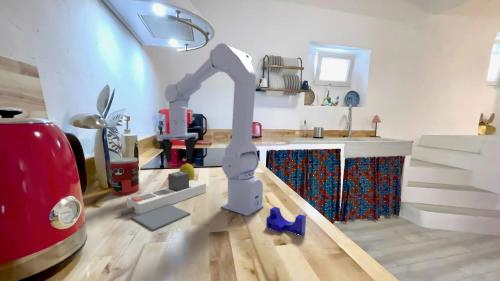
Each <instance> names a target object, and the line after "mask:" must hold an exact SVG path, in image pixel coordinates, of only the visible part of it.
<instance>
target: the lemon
mask: <svg viewBox="0 0 500 281" xmlns="http://www.w3.org/2000/svg"><path fill="white" fill-rule="evenodd" d="M180 171H181V172H185V173H189V181H190V180H194V178H195V174H196V172H195V168H194V166H193V165H192V164H190V163H187V162H186V163H185V164H183V165H181V166H180V168H179V171H178V172H180Z"/></svg>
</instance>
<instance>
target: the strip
mask: <svg viewBox="0 0 500 281" xmlns="http://www.w3.org/2000/svg"><path fill="white" fill-rule="evenodd" d="M206 192H207V183H204V182H201V181H197V180H194V179H193V180H190V181H189V188H187V189H184V190H181V191H178V192H176V191H173V190H170V189H169V185H168V186H165V187H161V188H158V189H154V190H150V191H147V192H143V193H140V194H137V195H133V196H129V197H126V206H127V207H126V208H125V209H121V210H120V211H119V213H120V215H121V216H124V215H126V214H130V213H132V212H133V213H135V215H137V214H143V213H145V212H148V211H151V210H154V209H157V208H159V207H162V206H165V205H168V204H169V205H172V206H173V205H174V204H177V203H180V202H183V201H185V200H189V199H190V198H191V199H192V198H193V197H197V196H199V195H202V194H204V193H206Z"/></svg>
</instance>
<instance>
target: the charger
mask: <svg viewBox="0 0 500 281" xmlns="http://www.w3.org/2000/svg"><path fill="white" fill-rule="evenodd" d="M179 171H180V170H179ZM179 171H176V172H172V173H168V174H167V176H168V178H167V179H168V180H167V181H168V183H167V184H168V186H169V189H170V190H173V191H176V192H178V191H181V190H184V189H187V188H189V173H185V172H181V171H180V172H179Z"/></svg>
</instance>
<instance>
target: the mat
mask: <svg viewBox="0 0 500 281" xmlns="http://www.w3.org/2000/svg"><path fill="white" fill-rule="evenodd" d="M190 215H191V213H190V212H188V211H186V210H183V209H181V208H178V207H177V206H174V205H173V204H172V205H169V204H168V205H165V206H162V207H159V208H157V209H154V210H151V211H148V212H145V213H143V214H135V215H132V216H130V218H131V220H134V221H136V222H138V223H139V224H141V225H143V226H144V227H146V228H147V229H149V230H151V231H153V232H154V231H157V230H159V229H161V228H163V227H165V226H167V225H170V224H173V223H174V222H177V221H179V220H182V219H184V218H186V217H188V216H190Z"/></svg>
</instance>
